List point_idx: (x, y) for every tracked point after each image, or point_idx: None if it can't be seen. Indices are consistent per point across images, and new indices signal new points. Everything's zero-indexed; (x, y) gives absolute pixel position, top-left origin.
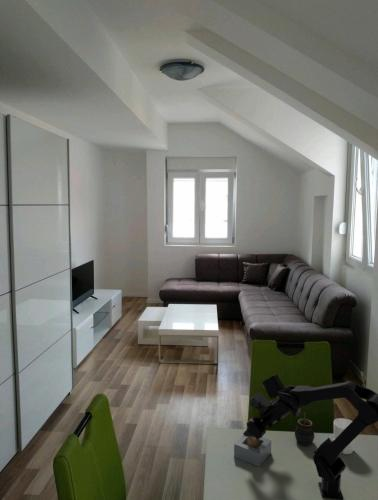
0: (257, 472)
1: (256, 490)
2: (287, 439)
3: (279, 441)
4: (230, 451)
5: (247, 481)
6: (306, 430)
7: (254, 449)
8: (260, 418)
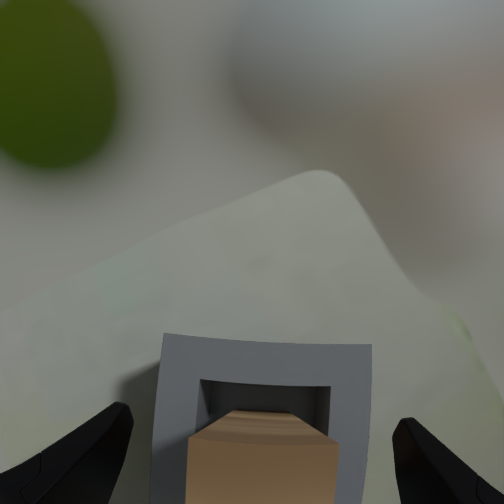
0: (130, 491)
1: None
2: None
3: None
4: (219, 312)
5: None
6: None
7: (176, 482)
8: (436, 499)
